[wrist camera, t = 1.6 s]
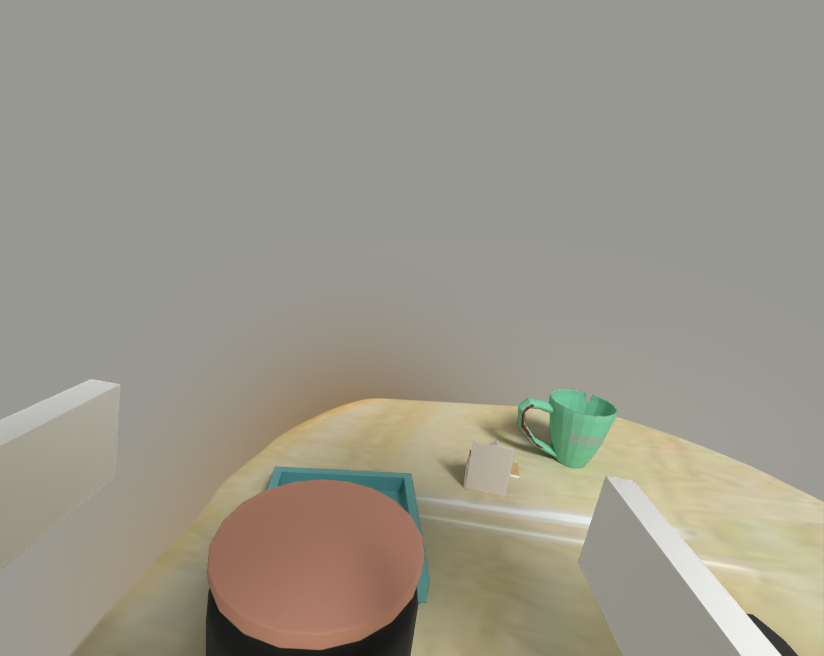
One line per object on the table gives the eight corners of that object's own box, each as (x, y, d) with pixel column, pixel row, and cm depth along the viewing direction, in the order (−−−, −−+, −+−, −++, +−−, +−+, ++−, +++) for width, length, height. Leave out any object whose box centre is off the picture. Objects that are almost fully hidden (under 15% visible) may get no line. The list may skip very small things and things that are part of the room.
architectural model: (463, 477, 63) (471, 430, 61) (512, 487, 62) (522, 439, 61) (462, 491, 60) (471, 441, 58) (514, 501, 59) (524, 451, 57)
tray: (408, 491, 58) (411, 473, 57) (425, 602, 41) (429, 579, 41) (274, 485, 55) (275, 466, 55) (235, 600, 39) (236, 575, 38)
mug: (587, 447, 76) (600, 392, 73) (613, 480, 66) (629, 419, 64) (502, 438, 75) (513, 383, 73) (517, 471, 66) (530, 409, 63)
